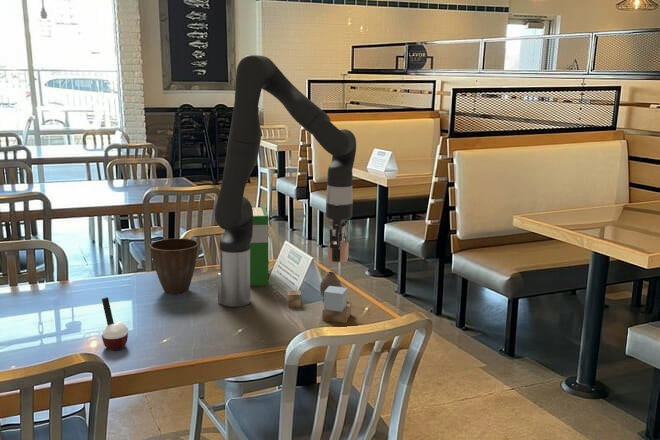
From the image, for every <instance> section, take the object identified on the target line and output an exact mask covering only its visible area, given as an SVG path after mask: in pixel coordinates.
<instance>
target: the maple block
mask: <svg viewBox="0 0 660 440" xmlns="http://www.w3.org/2000/svg"><path fill="white" fill-rule="evenodd" d="M301 301H302V293H301V290H300V289H296V290H295V289H294V290H293V289H292V290H286V305H287V308H298V307H301V306H302V305H301V304H302V302H301Z"/></svg>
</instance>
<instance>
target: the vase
mask: <svg viewBox="0 0 660 440" xmlns="http://www.w3.org/2000/svg"><path fill="white" fill-rule="evenodd" d="M329 286H335V287H343V286H342V283H341V280H340V279H339V278H338V276H337V274H336V273H335V271H328V272H327V273H326V275H325V276H324V277H323V278H322V280H321V282H320V285H319V292H320V295H321V297H322V298H323V299H324V291H325V290H326V289H327V288H328V287H329Z"/></svg>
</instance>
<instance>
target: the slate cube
mask: <svg viewBox="0 0 660 440" xmlns="http://www.w3.org/2000/svg"><path fill="white" fill-rule="evenodd" d="M347 302H348V287H343V286H342V287H335V286H329V287H328V288H327V289H326V290H325V291H324V298H323V309H324V310H331V311H339V312H342V311H343V310H344V308H345V307H346V306H347V304H348V303H347Z"/></svg>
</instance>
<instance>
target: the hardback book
mask: <svg viewBox="0 0 660 440" xmlns="http://www.w3.org/2000/svg"><path fill="white" fill-rule="evenodd" d="M252 209H253V234H252V240H251V242H250V287H253V286H254V287H257V286H258V287H259V286H269V214H268V211H267V209H266V207H265V205H263V204H261V205H260V207H252Z"/></svg>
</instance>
